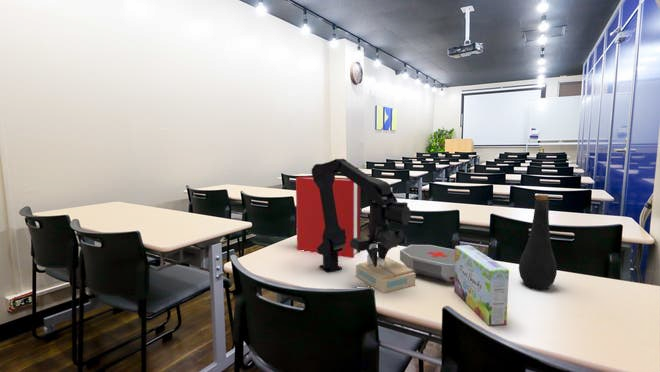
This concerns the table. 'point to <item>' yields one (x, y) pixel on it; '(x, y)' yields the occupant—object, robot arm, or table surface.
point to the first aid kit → (430, 261)
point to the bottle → (539, 250)
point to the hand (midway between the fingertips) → (378, 266)
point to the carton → (383, 278)
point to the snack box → (482, 284)
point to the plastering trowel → (390, 266)
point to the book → (312, 213)
